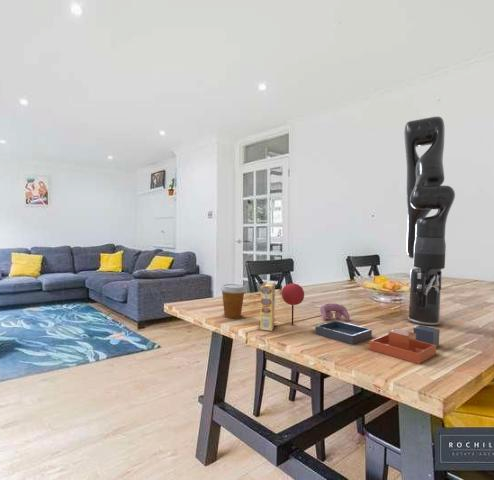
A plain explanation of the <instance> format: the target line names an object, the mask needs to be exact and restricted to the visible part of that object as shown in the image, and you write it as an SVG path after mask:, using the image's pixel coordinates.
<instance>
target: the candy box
mask: <svg viewBox="0 0 494 480" xmlns="http://www.w3.org/2000/svg"><path fill="white" fill-rule="evenodd" d="M275 305H276V282H270V281H264V282H263V283H262V284H261V285H260V320H259V321H260V322H259V323H260V324H259V325H260V328H259V330H260V331H269V332H270V331H271V332H272V331H273V329H274V326H275V308H276V307H275Z"/></svg>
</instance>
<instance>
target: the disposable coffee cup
mask: <svg viewBox="0 0 494 480" xmlns="http://www.w3.org/2000/svg"><path fill="white" fill-rule="evenodd" d="M220 290H221V292H222V293H221V294H222V304H223V314H224V317H225V318H229V319H239V318H241V317H242V311H243V310H242V309H243V304H244V296H245V292H246V288H245V285H244V284H237V283H225V284H222V285H221V288H220Z"/></svg>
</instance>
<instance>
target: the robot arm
mask: <svg viewBox="0 0 494 480" xmlns="http://www.w3.org/2000/svg"><path fill="white" fill-rule="evenodd" d="M445 130H446V129H445V121H444V119H443V117H441V116H430V117H423V118H418V119H413V120H409V121H408V122H406V123H405V125H404V130H403V131H404V133H403V135H404V148H405V159H406V160H405V161H406V205H407V206H406V207H407V231H406V253H407V256H408V257H409V258H410V259H413V262H412V263H413V267H414V268H411V270H410V276H409V277H410V278H409V280H410V281H409V301H408V303H409V304H408V317H407V318H408V319H407V320H408V321H409V322H411V323H414V324H417V325H421V326H430V327H431V326H432V327H433V326H434V327H435V326H439V325H440V312H441V308H440V307H441V291H442V274H443V273H442V270H445V268H446V251H447V250H446V248H447V247H446V246H447V245H446V244H447V243H446V225H447V220H448V216H449V214H450V211H451V208H452V206H453V203H454V201H455V198H456V193H455V190H454V188H453V187H452V186H450V185H443V183H444V181H445V170H444V162H443V161H444V151H445V137H446V136H445V135H446V134H445V133H446V131H445ZM429 145H430V146H429ZM425 146H429V148H427V149H426V151H424V153H423V154H422V155H421V156H419V154H418V152H417V148H419V147H425ZM432 210H437V213H435V214H434V215H431V216H428V215H429V214H430V212H431V211H432Z"/></svg>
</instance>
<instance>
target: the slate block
mask: <svg viewBox="0 0 494 480" xmlns="http://www.w3.org/2000/svg"><path fill="white" fill-rule="evenodd" d="M413 333H416V340H417V341H421V342H425V343H430V344H434V345H436V348H437V347H439V346H440V329H439V328H435V327H431V326H427V325H422V324H419V325H417V326H415V327H413Z"/></svg>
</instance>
